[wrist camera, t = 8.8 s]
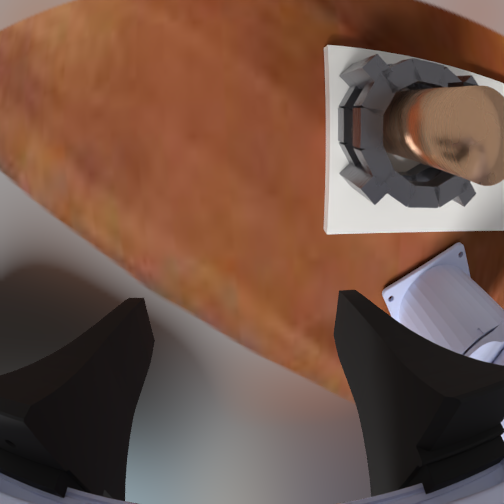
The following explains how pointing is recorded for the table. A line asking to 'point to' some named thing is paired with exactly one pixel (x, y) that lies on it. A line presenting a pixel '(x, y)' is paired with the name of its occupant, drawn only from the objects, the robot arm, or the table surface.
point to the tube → (449, 130)
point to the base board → (389, 209)
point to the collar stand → (371, 134)
